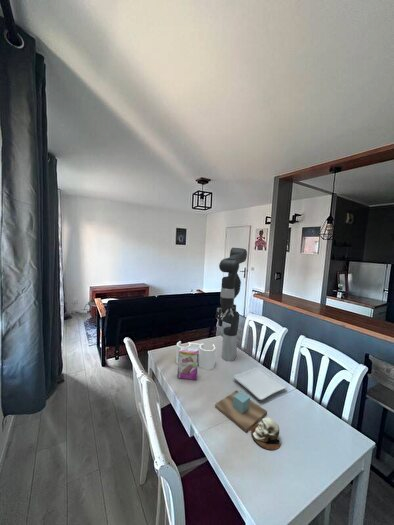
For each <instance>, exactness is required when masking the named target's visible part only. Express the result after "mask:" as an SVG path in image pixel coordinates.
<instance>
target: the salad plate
mask: <svg viewBox="0 0 394 525" xmlns="http://www.w3.org/2000/svg"><path fill="white" fill-rule="evenodd" d="M232 377H233V379H234V380H235V381H236V382H237V383H239V384H240V385H241V386H242V387H244V388H245V389H246V390H247V391H248V392H250V393H251V394H252V395H253V396H254V397H255V398H256V399H257V400H259V401H264V400H265V399H266V398H268V397H271V396H273V395H274V394H276V393H278V392H281V391H283V390H286V389H287V388H288V386H287V385H286V384H284V382H282V381H280V380H279V379H277V378H276V377H274V376H273V375H271V374H269V373H268V372H267V371H265V370H264V369H262V368H261V367H259V366H256V367H254V368H251V369H248V370H245V371H242V372H239V373H236V374H233V376H232Z"/></svg>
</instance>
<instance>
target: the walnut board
mask: <svg viewBox="0 0 394 525" xmlns="http://www.w3.org/2000/svg"><path fill="white" fill-rule="evenodd" d="M238 392H239V391H238V390H237V389H236V390H235V391H234V392H232V393H231V394H229V395H227V396H226V397H224V398H223V399H221V400H219V401H218V402H216V403H215V404H214V405H215V406H214V407H215V409H216V410H218V411H219V412H220V413H222V414H223V415H224V416H225V417H226V418H228V419H229V420H230V421H231V422H233V423H234V424H235V426H237V427H238V428H240V429H241V430H242V431H243V432H245V433H248V432H249V431H251V429H252V427H253V426H254V425H256V424H259V423H260V421H262V419H263V418H265V416H267V414H268V410H266V409H265V408H263V407H261V406H260V405H259V404H257V403H255V401H253V400H251V399H250V405H249V409H248V410H246V411H245V412H244V413H243V414H241V413H240V412H239V411H238V410H236V409H235V408H234V407H233V396H234V395H235V394H237V393H238Z"/></svg>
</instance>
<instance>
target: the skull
mask: <svg viewBox="0 0 394 525" xmlns="http://www.w3.org/2000/svg"><path fill="white" fill-rule="evenodd" d="M250 433H251V438H252V439H253V440H254V441H255V442H256V444H258V445H259V446H260V447H262V448H264V449H266V450H272V451H273V450H275V451H276V450H277V449H279V448H281V446H282V441H280V439H278V437H279V435H280V426H279V424H278V423H277V422H276V421H275V420H274V419H273V418H271V417H268V416H267V417H263V418H262V419H261V422H258V423H257V424H255V425H254V426H253V427H252V428H251V429H250Z"/></svg>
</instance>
